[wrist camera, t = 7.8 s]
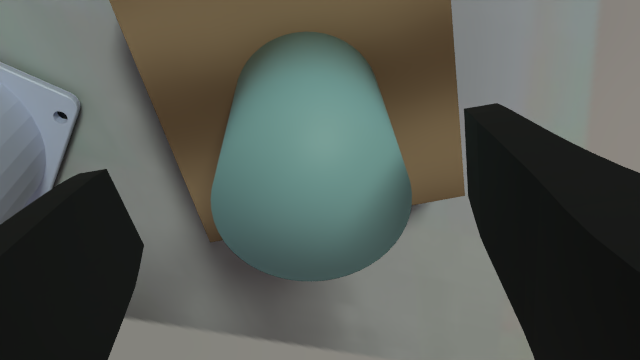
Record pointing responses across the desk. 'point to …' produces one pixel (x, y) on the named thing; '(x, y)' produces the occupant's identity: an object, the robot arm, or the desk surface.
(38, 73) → the desk surface
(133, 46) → the block
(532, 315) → the robot arm
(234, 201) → the teal tapered rounded part
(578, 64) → the desk surface
